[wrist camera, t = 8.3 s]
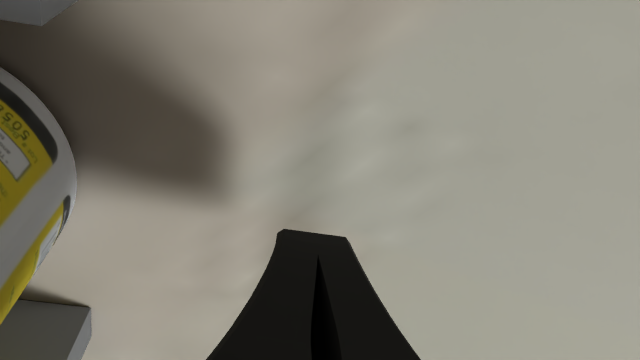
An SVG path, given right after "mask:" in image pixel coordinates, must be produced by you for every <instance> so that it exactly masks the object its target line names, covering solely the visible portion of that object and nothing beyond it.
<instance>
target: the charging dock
mask: <svg viewBox="0 0 640 360" xmlns="http://www.w3.org/2000/svg"><path fill="white" fill-rule="evenodd" d="M77 1H78V0H0V20H6V21H12V22H18V23H24V24H30V25H37V26H43V25H44V24H45V23H47V22H48V21H50V20H51V19H53V18H54V17H55V16H57V15H58V14H60V13H61V12H62V11H64V10H65V9H67V8H68V7H69V6H71V5H72V4H74V3H75V2H77ZM90 338H91V308H87V307H78V306H70V305H61V304H52V303H44V302H35V301H27V300H18V299H17V301H16V302H15V304H14V305H13V307H12V308H11V310H10V311H9V313H8V314H7V316H6V317H5V319H4V320H3V322H2V323H1V325H0V360H81V359H82V356H83V354H84V352H85V350H86V347H87V345H88V343H89V340H90Z"/></svg>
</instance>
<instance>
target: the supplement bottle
mask: <svg viewBox="0 0 640 360" xmlns="http://www.w3.org/2000/svg"><path fill="white" fill-rule="evenodd" d="M76 192H77V172H76V167H75V161H74V157H73V154H72V151H71V148H70V145H69V143H68V141H67V139H66V137H65V135H64V133H63V131H62V129H61V127H60V125H59V124H58V122H57V121H56V119H55V118H54V116H53V115H52V114H51V112H50V111H49V110H48V109H47V107H46V106H45V105H44V104H43V102H42V101H41V100H40V99H39V98H38V97H37V96H36V95H35V94H34V93H33V92H32V91H31V90H30V89H29V88H28V87H26V86H25V85H24V84H23V83H22V82H21V81H19V80H18V79H17V78H15V77H14V76H13V75H11V74H10V73H8V72H7V71H5V70H4V69H2V68H1V67H0V325H1V323H2V322H3V320H4V319H5V317H6V316H7V314H8V313H9V311H10V310H11V308H12V307H13V305H14V304H15V302H16V301H17V299H18V298H19V296H20V295H21V293H22V292H23V290H24V289H25V287H26V285H27V284H28V283H29V281H30V280H31V278H32V277H33V275H34V274H35V272H36V271H37V269H38V268H39V266H40V264H41V263H42V261H43V260H44V258H45V257H46V255H47V254H48V252H49V251H50V249H51V247H52V246H53V244H54V243H55V241H56V239H57V238H58V236H59V234H60V233H61V231H62V229H63V228H64V226H65V224H66V222H67V221H68V219H69V217H70V214H71V212H72V210H73V206H74V203H75V198H76Z"/></svg>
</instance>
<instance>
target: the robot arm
mask: <svg viewBox="0 0 640 360" xmlns="http://www.w3.org/2000/svg"><path fill="white" fill-rule="evenodd" d="M206 360H421V359H420V358H419V357H418V355H417V354H416V353H415V351H414V350H413V349H412V347H411V346H410V344H409V343H408V342H407V340H406V339H405V337H404V336H403V335H402V333H401V332H400V330H399V329H398V327H397V326H396V324H395V323H394V321H393V320H392V318H391V317H390V315H389V313H388V312H387V310H386V308H385V307H384V305H383V304H382V302H381V300H380V299H379V297H378V295H377V294H376V292H375V290H374V289H373V287H372V285H371V283H370V281H369V280H368V278H367V276H366V274H365V272H364V270H363V269H362V267H361V265H360V263H359V261H358V259H357V257H356V255H355V253H354V251H353V249H352V247H351V245H350V243H349V241H348V240H347V238H346V237H341V236H333V235H326V234H318V233H311V232H303V231H296V230H288V229H283V230H282V231H280V232H278V233H277V238H276V244H275V248H274V251H273V254H272V256H271V259H270V261H269V263H268V265H267V268H266V270H265V272H264V274H263V276H262V277H261V279H260V281H259V283H258V285H257V287H256V289H255V290H254V292H253V294H252V296H251V297H250V299H249V301H248V302H247V304H246V305H245V307H244V308H243V310H242V311H241V313H240V314H239V316H238V317H237V319H236V321H235V322H234V324H233V325H232V326H231V328H230V329H229V331H228V332H227V333H226V335H225V336H224V337H223V339H222V340H221V341H220V343H219V344H218V345H217V347H216V348H215V349H214V350H213V352H212V353H211V354H210V355H209V357H208V358H207V359H206Z"/></svg>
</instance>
